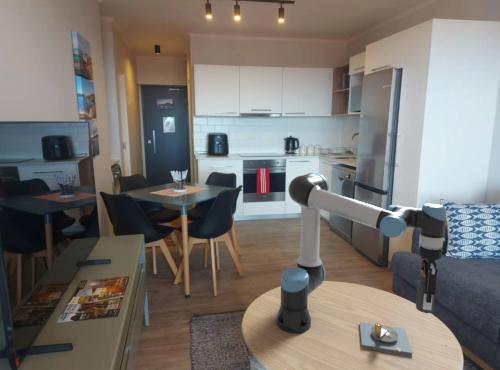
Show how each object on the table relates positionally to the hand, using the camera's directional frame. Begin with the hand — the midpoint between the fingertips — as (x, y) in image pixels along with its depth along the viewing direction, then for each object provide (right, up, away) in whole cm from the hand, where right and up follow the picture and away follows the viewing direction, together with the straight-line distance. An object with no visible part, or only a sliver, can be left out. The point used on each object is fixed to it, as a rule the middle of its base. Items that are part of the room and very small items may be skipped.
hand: (424, 304), depth 125 cm
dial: (-12, -16, +8) cm, 22 cm away
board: (-12, -18, +10) cm, 23 cm away
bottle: (0, -2, 0) cm, 2 cm away
